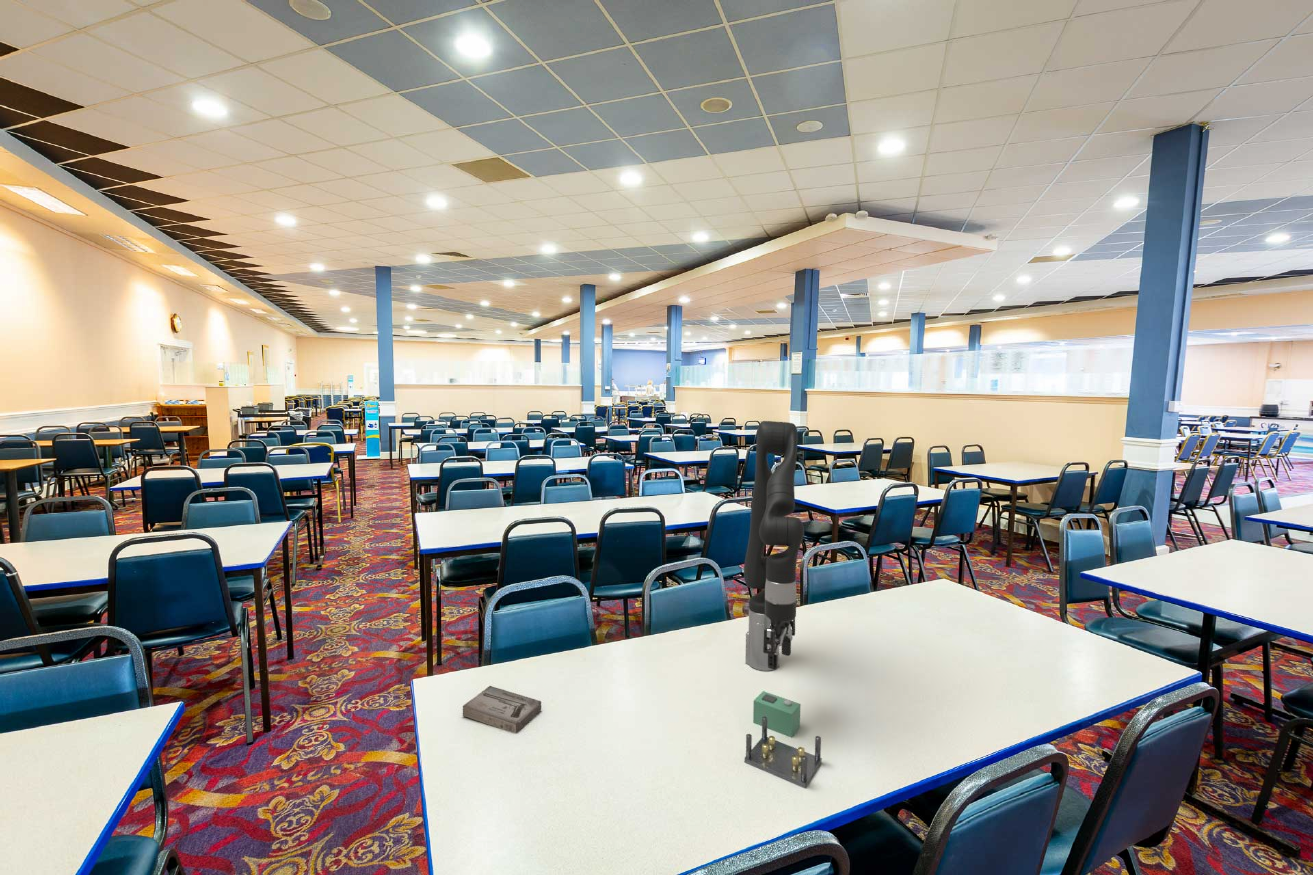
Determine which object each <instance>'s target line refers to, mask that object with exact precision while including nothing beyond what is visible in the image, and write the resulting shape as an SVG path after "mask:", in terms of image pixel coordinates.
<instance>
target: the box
mask: <svg viewBox="0 0 1313 875" xmlns="http://www.w3.org/2000/svg"><path fill="white" fill-rule="evenodd" d="M540 713H542V701H541V700H538V699H535V698H532V697H528V696H526V695H522V694H518V693H515V692H511V691H509V690H505V689H501V688H499V687H496V686H492V685H488V686H487V687H486V688H485V689H484V690H482V691H481V692H480V693H478V694H477V695H475V697H473V698H472V699H470V700H468V701H467V702H466V703H464V704H463V705H462V716H463V717H466V718H468V719H471V720H474V721H477V722H480V723H482V724H486V725H489V726H491V727H494V728H497V729H501V730H504V731H507V732H509V733H513V734H517V733H518V732H520V731H521V730H522V729H523V728H524V727H525V725H527V724H528V723H530V722H531V721H532V720H533V719H534V718H536V717H537V715H538V714H540Z"/></svg>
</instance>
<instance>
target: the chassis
mask: <svg viewBox="0 0 1313 875" xmlns="http://www.w3.org/2000/svg"><path fill="white" fill-rule="evenodd" d="M745 735H746V737H745V756H744V763H745V764H747V765H750V766H753V767H756V768H757V769H759V770H762V771H764V772H765V773H769V774H770V775H773V776H776V777H778V778H780V779H783V780H786V781H787V782H789V783H792V784H795V785H797V786H800V787H802V788H803V789H806V787H807V786H808V785H809V783H810V781H811V780H812V778H813V776H814V775H815V773H816V772H817V771H818V769H819V767H820V766H821V764H822V762H823V761H822V756H821V755H822V753H821V752H822V751H821V750H822V737H821V736H820V735H816V736H815V740H814V741H815V742H814V744H815V746H814V754H812V753H810V752H807V751H806V750H805V748H804V747H801V746H799V747H798V748H796V747H794V746H791V745H789V744H786V743H784V742H781V741H779V740H776V737H775V736H773V735H769V736H768V728H767V717H762V726H761V738H760V739H759V740H758V742H757V743H756V744H755V745H754V746H752V743H753V741H752V740H753V739H752V737H753V736H752V734H751V733H747V734H745Z"/></svg>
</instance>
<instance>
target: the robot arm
mask: <svg viewBox="0 0 1313 875" xmlns="http://www.w3.org/2000/svg"><path fill="white" fill-rule="evenodd" d="M798 434H799V433H798V429H797V426H796V424H794V423H793V422H787V421H786V422H785V421H775V420H774V421H772V420H763V421H760V422H759V424H758V426H757V433H756V444H755V446H756V447H755V452H756V453H755V471H754V472H755V475H754V483H753V492H752V499H751V507H750V508H751V510H750V522H749V523H750V525H749V535H748V536H749V537H748V542H747V546H746V547H747V548H746V554H745V557H744V558H745V559H744V566H743V580H744V583H745V584H746V586H747V588H750V589H754V590H755V589H756V590H758V589H761V591H760V592H758V593H757V594H755V595H753V596H751V597H750V598H749V601H748V631H747V632H745V664H747V665H748V666H750V667H751V668H752V669H755V670H757V671H763V672H767V671H769V672H770V671H776V670H777V669H778V668H779V666H780V647H781V655H783V656H786V657H790V655H791V654H792V641H793V639H794V638H793V637H794V636H795V635H796V617H797V585H796V583H797V582H796V578H797V576H796V575H797V574H796V573H797V572H796V571H797V570H796V569H797V568H796V567H797V559H798V554H799V551H800V548H801V545H802V542H803V540H804V536H805V526H804V523H803V521H802V520H801V519H800V518H799V517H797V516H795V517H794V516H789V515H792V514H793V512H794V511H795V509H796V502H795V496H796V494H795V474H796V466H797V455H798V454H797V453H798V440H799V439H798V437H799V436H798ZM768 455H780V456H781V455H782V456H784V458H783V460H782V461H781V462H780V464H779V465H778V466H777V468H776V469H775V470H774V471H773V472H772V470H771V468H770V465H769V461H768ZM766 545H767V546H778V547H779V546H780V547H787V548H786V549H785V550H784V551H781V552H778V553H771V554H769V555H767V556H763V551H764V549H765V547H766Z"/></svg>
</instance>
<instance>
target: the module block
mask: <svg viewBox="0 0 1313 875" xmlns="http://www.w3.org/2000/svg"><path fill="white" fill-rule="evenodd" d="M752 708H753V712H752V713H753V715H752V716H753V720H752V723H753V724H755V725H758V726H760V727H762V717H767V730H771V731H773V732H776V733H778V734H781V735H783V736H786V737H788V738H792V737H793V736H794V735H795V734H796V733H797V731H798V730H799V729H800V727H801V703H800V702H796V701H794V700H791V699H788V698H785V697H782V696H779V695H776V694H773V693H770V692H767V691H765V690H763V691H762V692H761V693H759V694H758V696H757V697H756V698H754V699H753V707H752Z"/></svg>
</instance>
